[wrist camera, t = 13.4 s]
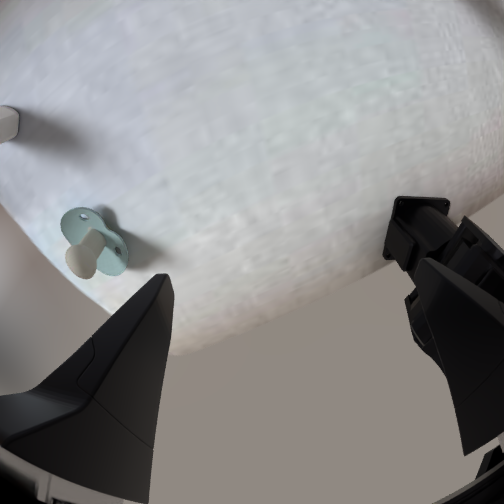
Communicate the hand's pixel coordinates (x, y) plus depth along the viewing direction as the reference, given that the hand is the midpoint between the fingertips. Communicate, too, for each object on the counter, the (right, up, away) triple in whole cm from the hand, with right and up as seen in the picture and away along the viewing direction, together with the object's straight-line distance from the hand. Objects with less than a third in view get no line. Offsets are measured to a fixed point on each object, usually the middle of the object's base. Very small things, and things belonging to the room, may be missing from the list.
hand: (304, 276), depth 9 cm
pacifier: (-16, +2, +14) cm, 22 cm away
